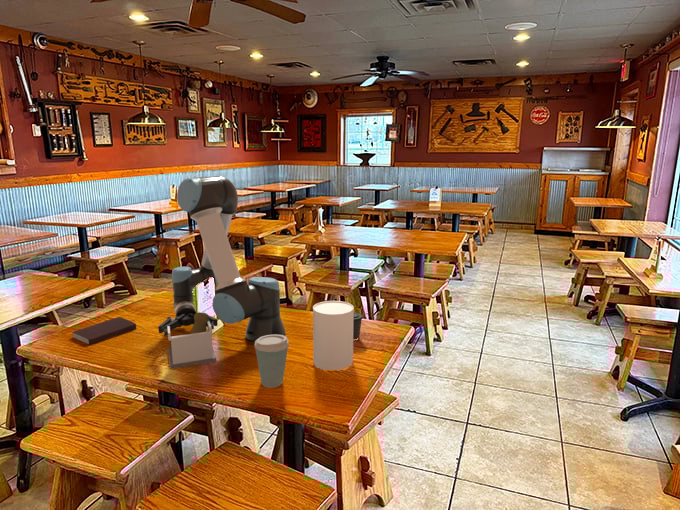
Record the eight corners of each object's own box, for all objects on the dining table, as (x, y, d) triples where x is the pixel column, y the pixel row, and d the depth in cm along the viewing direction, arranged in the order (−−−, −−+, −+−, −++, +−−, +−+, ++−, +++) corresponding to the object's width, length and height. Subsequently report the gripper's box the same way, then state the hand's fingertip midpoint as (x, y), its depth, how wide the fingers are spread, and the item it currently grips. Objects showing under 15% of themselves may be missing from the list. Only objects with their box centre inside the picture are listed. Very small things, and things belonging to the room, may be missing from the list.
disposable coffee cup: (248, 385, 143) (246, 339, 140) (271, 371, 152) (270, 328, 148) (274, 395, 137) (272, 348, 134) (296, 380, 146) (296, 336, 142)
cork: (198, 341, 169) (204, 311, 169) (208, 345, 165) (214, 315, 165) (184, 341, 164) (190, 310, 164) (193, 345, 160) (199, 314, 160)
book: (137, 330, 187) (136, 322, 186) (89, 346, 171) (88, 338, 170) (119, 323, 194) (118, 316, 193) (72, 338, 178) (71, 331, 177)
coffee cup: (339, 341, 175) (339, 316, 173) (344, 333, 183) (344, 309, 181) (360, 343, 173) (360, 318, 171) (364, 335, 181) (364, 311, 179)
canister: (331, 376, 149) (331, 317, 144) (305, 362, 159) (304, 306, 154) (361, 363, 158) (362, 307, 153) (334, 350, 167) (334, 298, 163)
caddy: (168, 349, 167) (165, 322, 165) (210, 343, 173) (209, 317, 171) (170, 368, 153) (167, 339, 151) (216, 361, 159) (214, 332, 156)
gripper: (219, 318, 183) (227, 338, 164) (151, 327, 174) (152, 349, 155) (218, 300, 181) (226, 318, 162) (150, 308, 172) (150, 328, 153)
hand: (190, 333), depth 158 cm, fingers open, 13 cm apart
